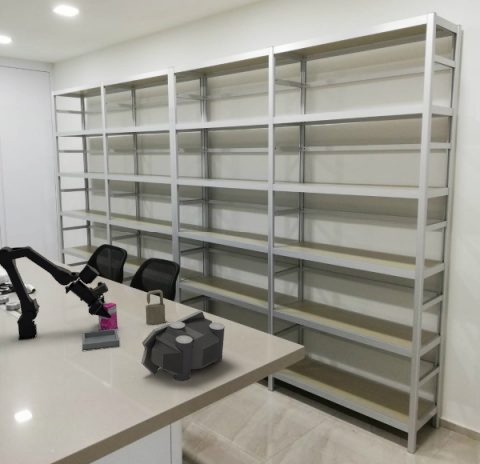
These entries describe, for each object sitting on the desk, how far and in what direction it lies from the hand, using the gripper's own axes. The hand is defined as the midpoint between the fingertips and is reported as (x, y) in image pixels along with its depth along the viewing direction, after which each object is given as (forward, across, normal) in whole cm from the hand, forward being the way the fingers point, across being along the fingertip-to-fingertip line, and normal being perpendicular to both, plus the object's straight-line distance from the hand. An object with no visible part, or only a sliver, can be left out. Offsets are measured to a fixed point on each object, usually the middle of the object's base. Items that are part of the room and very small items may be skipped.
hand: (111, 314), depth 220 cm
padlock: (+19, +4, -9) cm, 21 cm away
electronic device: (+24, -48, -14) cm, 56 cm away
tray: (+2, -15, +8) cm, 17 cm away
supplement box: (+4, 0, +6) cm, 7 cm away
